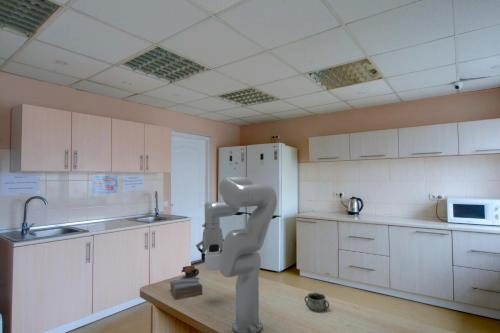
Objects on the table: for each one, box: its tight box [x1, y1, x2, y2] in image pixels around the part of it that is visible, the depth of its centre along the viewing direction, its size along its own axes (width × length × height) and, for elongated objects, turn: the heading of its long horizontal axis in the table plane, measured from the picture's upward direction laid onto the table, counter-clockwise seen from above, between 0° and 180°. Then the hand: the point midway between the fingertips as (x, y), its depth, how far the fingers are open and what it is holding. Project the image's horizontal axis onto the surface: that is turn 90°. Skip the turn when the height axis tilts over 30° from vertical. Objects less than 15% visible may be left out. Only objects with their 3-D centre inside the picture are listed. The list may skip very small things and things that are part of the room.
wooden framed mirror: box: [170, 277, 203, 300], centre depth 154 cm, size 14×14×5 cm
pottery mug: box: [181, 265, 200, 279], centre depth 175 cm, size 12×9×8 cm
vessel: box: [304, 292, 330, 313], centre depth 133 cm, size 12×9×6 cm
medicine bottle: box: [204, 244, 221, 271], centre depth 143 cm, size 7×7×12 cm
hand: (212, 259), depth 145 cm, fingers closed on medicine bottle, 9 cm apart
